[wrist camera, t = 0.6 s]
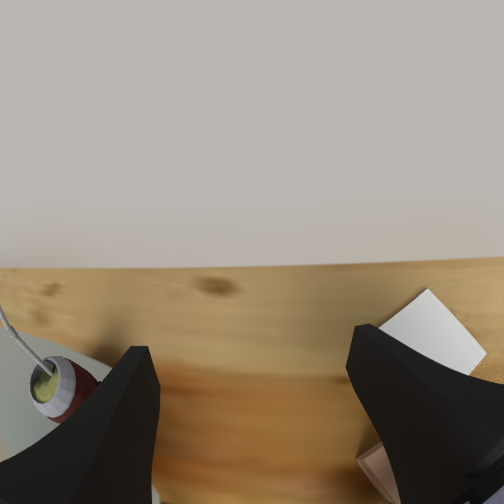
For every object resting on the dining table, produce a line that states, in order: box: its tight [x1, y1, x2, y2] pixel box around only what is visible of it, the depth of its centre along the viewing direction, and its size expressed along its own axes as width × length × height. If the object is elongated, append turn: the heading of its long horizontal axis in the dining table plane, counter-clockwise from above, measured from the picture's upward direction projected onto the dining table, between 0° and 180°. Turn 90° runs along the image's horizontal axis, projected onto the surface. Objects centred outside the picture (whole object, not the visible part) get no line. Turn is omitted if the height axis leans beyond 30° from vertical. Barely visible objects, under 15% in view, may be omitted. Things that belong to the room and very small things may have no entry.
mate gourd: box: [0, 306, 101, 424], centre depth 19 cm, size 8×8×15 cm
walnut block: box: [355, 441, 401, 504], centre depth 14 cm, size 5×5×5 cm
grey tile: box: [379, 288, 487, 375], centre depth 22 cm, size 10×10×1 cm
